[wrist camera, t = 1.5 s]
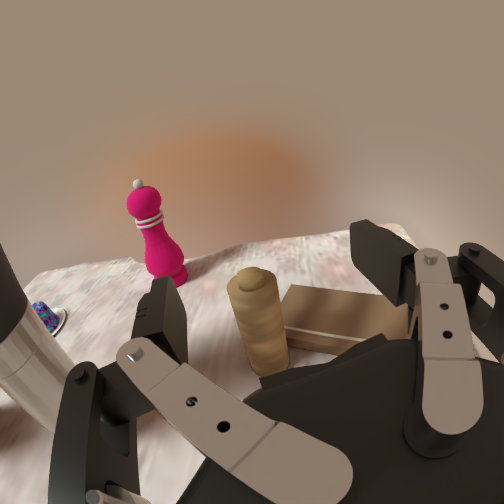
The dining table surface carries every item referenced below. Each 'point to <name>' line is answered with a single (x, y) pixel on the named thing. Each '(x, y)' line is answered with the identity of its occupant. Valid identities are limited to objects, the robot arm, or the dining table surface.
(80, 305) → the dining table surface
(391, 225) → the dining table surface
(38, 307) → the blue patterned hat
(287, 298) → the walnut board
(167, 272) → the pepper mill
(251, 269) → the tan tall cylinder
